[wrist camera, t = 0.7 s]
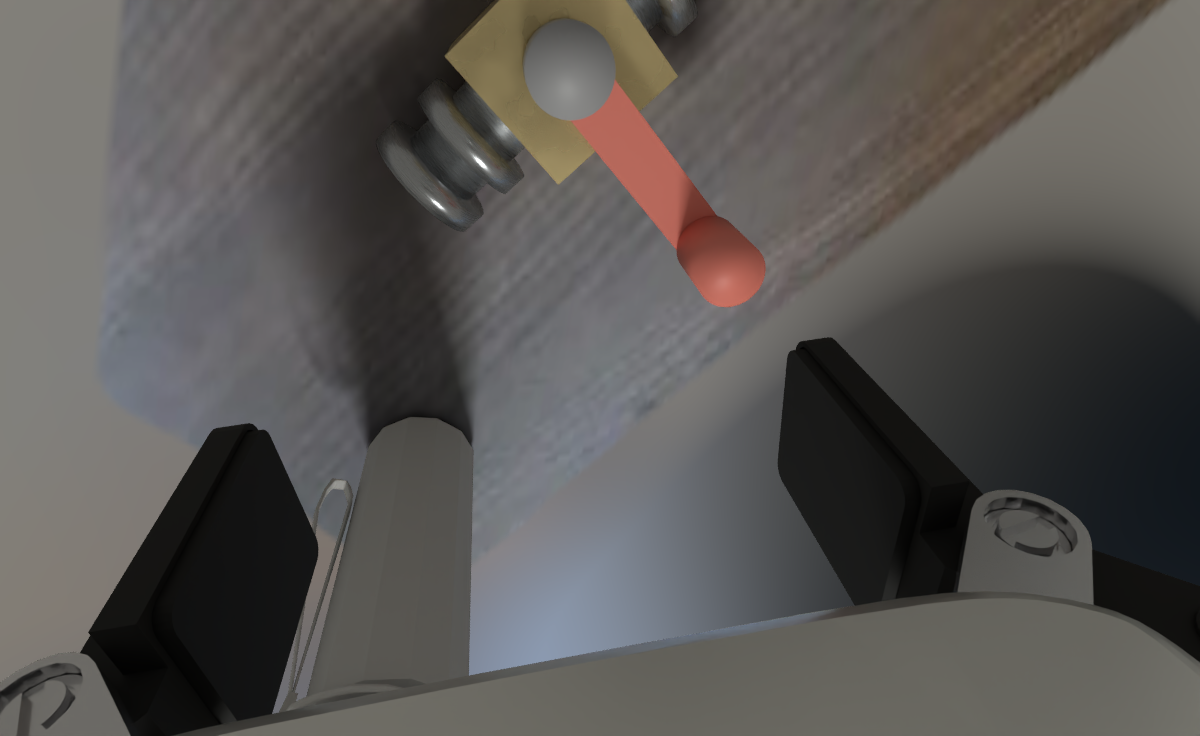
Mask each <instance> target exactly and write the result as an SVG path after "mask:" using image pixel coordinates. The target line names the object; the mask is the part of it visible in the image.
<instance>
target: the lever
mask: <svg viewBox="0 0 1200 736" xmlns="http://www.w3.org/2000/svg"><path fill="white" fill-rule="evenodd" d="M615 72H616V68H615V60H614V56H613V53H612V50H611V48H610V46H609V44H608V42H607V41H606V39H605V38H604V37H603V36H602V34H601V33H599V32H598V31H597V30H596V29H595V28H593V27H592V26H590V25H588V24H586V23H583V22H580V21H577V20H574V19H568V18H562V19H556V20H552V21H550V22H547V23H545V24H544V25H542V26H541V27H540V28H539V29H537V30H536V31H535V33H534V34H533V35H532V36H531V38H530V39H529V41H528V43H527V45H526V48H525V51H524V56H523V75H524V79H525V82H526V85H527V87H528V90H529V92H530V94H531V96H532V98H533V99H534V101H535V102H536V103H537V105H538V106H539V107H540V108H541V109H542V110H544V111H545V112H546V113H548V114H549V115H551V116H553V117H555V118H558V119H562V120H570V121H571V122H572V123H573V124H574V125H575V127H576V128H577V129H578V130H579V132H580V133H581V134H582V135H583V136H584V138H585V139H586V140H587V141H588V143H589V144H590V145H591V146H592V147H593V149H594V150H595V151H596V152H597V154H598V155H599V156H600V157H601V158H602V160H603V161H604V162H605V163H606V164H607V166H608V167H609V168H610V169H611V171H612V172H613V173H614V174H615V175H616V177H617V178H618V179H619V180H620V182H621V183H622V184H623V185H624V186H625V188H626V189H627V190H628V191H629V193H630V194H631V195H632V196H633V197H634V199H635V200H636V201H637V202H638V203H639V205H640V206H641V207H642V208H643V210H644V211H645V212H646V213H647V214H648V216H649V217H650V218H651V219H652V221H653V222H654V223H655V224H656V225H657V227H658V228H659V229H660V230H661V231H662V233H663V234H664V235H665V236H666V238H667V239H668V240H669V241H670V242H671V244H672V245H673V246H674V247H675V249H676V250H677V257H678V260H679V262H680V264H681V266H682V267H683V269H684V270H685V271H686V273H687V274H688V276H689V277H690V278H691V280H692V281H693V283H694V284H695V286H696V287H697V288H698V290H699V291H700V293H701V294H702V295H703V297H704V298H705V299H706V300H707V301H708V302H710V303H712V304H713V305H716V306H720V307H731V306H736V305H739V304H741V303H743V302H745V301H747V300H748V299H750V298H751V297H752V296H753V295H754V294H755V293H756V292H757V291H758V289H759V288H760V286H761V284H762V282H763V280H764V276H765V261H764V258H763V256H762V254H761V253H760V251H759V250H758V249H757V248H756V247H755V246H754V245H753V244H752V243H751V242H750V241H748V240H747V239H746V238H745V237H744V236H743V235H742V234H741V233H740V232H739V231H738V230H737V229H736V228H735V227H734V226H733V225H732V224H731V223H730V222H729V221H727V220H726V219H724V218H721V217H718V216H717V215H716V214H715V212H714V211H713V210H712V208H711V207H710V206H709V204H708V203H707V202H706V200H705V199H704V198H703V196H702V195H701V194H700V192H699V191H698V190H697V188H696V187H695V186H694V184H693V183H692V182H691V180H690V179H689V178H688V176H687V175H686V174H685V172H684V171H683V170H682V168H681V167H680V166H679V164H678V163H677V162H676V160H675V159H674V158H673V156H672V155H671V154H670V152H669V151H668V150H667V148H666V147H665V146H664V144H663V143H662V142H661V140H660V139H659V138H658V136H657V135H656V134H655V132H654V131H653V130H652V128H651V127H650V126H649V124H648V123H647V122H646V120H645V119H644V118H643V116H642V115H641V114H640V112H639V111H638V110H637V108H636V107H635V106H634V104H633V103H632V102H631V100H630V99H629V98H628V96H627V95H626V94H625V92H624V91H623V90H622V88H621V87H620V86H619V84H618V83H617V82H616V80H615Z"/></svg>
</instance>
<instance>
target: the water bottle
mask: <svg viewBox="0 0 1200 736" xmlns="http://www.w3.org/2000/svg"><path fill="white" fill-rule="evenodd" d="M331 489H342V490H344V493H345V496H346V499H347V502H348V506H347V509H346V512H345V516H344V519H343V523H342V526H341V529H340V533H339V536H338V539H337V543H336V546H335V550H334V553H333V556H332V560H331V563H330V566H329V570H328V573H327V577H326V580H325V583H324V587H323V590H322V593H321V597H320V600H319V603H318V607H317V610H316V613H315V617H314V620H313V624H312V627H311V631H310V634H309V637H308V641H307V644H306V647H305V651H304V654H303V657H302V661H301V664H300V667H299V671H298V674H297V677H296V681H295V684H294V688H293V682H294V676H295V668H296V662H297V655H298V648H299V642H300V635H301V628H302V621H303V615H304V608H305V603H304V607H303V610H302V613H301V617H300V620H299V624H298V628H297V635H296V643H295V649H294V656H293V663H292V670H291V677H290V684H289V691H288V695H287V697H286V699H285V701H284V703H283V705H282V707H281V709H280V711H279V712H284V711H289V710H294V709H298V708H303V707H308V706H313V705H319V704H324V703H329V702H334V701H339V700H345V699H350V698H355V697H360V696H365V695H371V694H376V693H381V692H386V691H391V690H397V689H402V688H407V687H412V686H418V685H423V684H428V683H433V682H438V681H444V680H449V679H454V678H459V677H464V676H469V639H470V638H469V637H470V591H471V590H470V588H471V544H472V497H473V449H472V447H471V446H470V444H469V442H468V441H467V439H466V438H465V436H464V435H463V433H462V431H460V430H458V429H456V428H454V427H453V426H451V425H449V424H447V423H445V422H443V421H441V420H439V419H437V418H424V417H408V418H406V419H403V420H401V421H398V422H396V423H393V424H391V425H388V426H386V427H384V428H383V429H382V430H381V431H380V432H379V434H378V435H377V436H376V438H375V439H374V440H373V441H372V443H371V444H370V445H369V447H368V451H367V455H366V459H365V463H364V467H363V471H362V475H361V479H360V483H359V487H358V491H357V495H356V499H355V503H354V507H353V512H352V516H351V520H350V524H349V528H348V532H347V536H346V540H345V544H344V548H343V552H342V556H341V560H340V564H339V568H338V572H337V576H336V580H335V584H334V588H333V592H332V596H331V600H330V604H329V609H328V612H327V616H326V620H325V624H324V628H323V632H322V636H321V640H320V644H319V648H318V652H317V656H316V660H315V664H314V669H313V673H312V676H311V680H310V684H309V689H308V692H307V696H306V697H305V698H303V699H300V700H298V701H296V699H297V695H298V693H295V689H296V686H297V683H298V679H299V676H300V673H301V670H302V667H303V663H304V660H305V657H306V654H307V651H308V647H309V644H310V641H311V638H312V634H313V631H314V628H315V625H316V621H317V618H318V615H319V612H320V608H321V605H322V602H323V599H324V596H325V592H326V589H327V586H328V582H329V579H330V576H331V573H332V570H333V566H334V563H335V560H336V557H337V553H338V550H339V547H340V544H341V540H342V537H343V534H344V531H345V527H346V524H347V521H348V517H349V514H350V510H351V506H352V498H353V493H352V489H351V486H350V485H349V483H348V482H347V481H344V480H341V479H332V480H331V481H330V482H329V484H328V485H327V486H326V488H325V489H324V491H323V493H322V496H321V498H320V500H319V502H318V505H317V507H316V510H315V513H314V517H313V524H312V529H313V532H314V534H316V527H317V520H318V513H319V510H320V507H321V505H322V503H323V500H324V498H325V497H326V496H327V494H328V493H329V492H330V491H331ZM305 601H306V600H305ZM292 689H293V691H292Z"/></svg>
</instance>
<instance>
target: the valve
mask: <svg viewBox="0 0 1200 736" xmlns="http://www.w3.org/2000/svg"><path fill="white" fill-rule="evenodd" d="M697 14H698V12H697V7H696V3H695V0H494V1H493V2H492V3H491V4H490V5H489V6H488V7H487V8H486V9H485V10H484V11H483V12H482V13H481V14H480V15H479V16H478V17H477V18H476V19H475V20H474V21H473V22H472V23H471V24H470V25H469V26H468V27H467V28H466V29H465V30H464V31H463V32H462V33H461V34H460V35H459V36H458V37H457V39H456V40H455V41H454V42H453V43H452V44H451V46H450V48H449V49H448V51H447V53H446V55H445V57H446V59H447V60H448V61H449V62H450V63H451V64H452V65H453V66H454V68H455V69H456V70H457V71H458V72H459V73H460V74H461V76H462V77H463V78H464V79H465V80H466V81H467V82H466V83H465V84H464V85H463V86H462V87H461V88H460V89H459V90H458V91H457V92H456V91H455V90H453V89H452V88H451V87H450V86H449V85H448V84H446V83H445V82H444V81H442V80H440V79H438V78H437V79H435V80H434V81H433V82H432V83H431V85H430V86H429V87H428V88H427V89H426V90H425V91H424V92H423V93H422V94H421V95H420V96H419V97H418V101H419V104H420V106H421V108H422V109H423V111H424V113H425V114H426V116H427V117H428V119H429V120H428V121H427V122H426V123H425V124H424V125H423V126H422V127H421V128H420V129H419V130H418V131H416V130H414V129H413V128H411V127H410V126H408V125H407V124H405V123H403V122H400V121H394V122H393V123H392V124H391V125H390V126H389V127H388V128H387V129H386V130H385V131H384V132H383V133H382V134H381V135H380V136H379V137H378V138H377V140H376V146H377V149H378V151H379V153H380V155H381V157H382V159H383V160H384V162H385V164H386V165H387V166H388V168H389V169H390V171H391V172H392V173H393V174H394V176H395V177H396V178H397V179H398V181H399V182H400V183H401V184H402V185H403V186H404V188H405V189H406V190H407V191H408V192H409V193H410V194H411V195H412V196H413V197H414V198H415V199H416V200H417V201H418V202H419V203H420V204H421V205H422V206H423V207H424V208H426V209H427V210H428V211H429V212H430V213H431V214H433V215H434V216H435V217H436V218H438V219H439V220H440V221H442V222H443V223H445V224H446V225H448V226H449V227H451V228H453V229H455V230H457V231H461V232H464V231H466V230H467V229H468V228H469V227H470V226H472V225H473V224H474V223H475V222H476V221H477V220H478V219H479V218H480V217H481V216H482V215H483V213H484V212H483V208H482V205H481V203H480V201H479V199H478V198H477V196H476V193H477V192H478V191H479V190H480V189H481V188H482V187H483V186H485V185H486V184H487V183H488V184H489V185H490V186H492V187H493V188H495V189H496V190H498V191H499V192H501V193H504V194H506V193H507V192H508V191H509V190H510V189H512V188H513V187H514V186H515V185H516V184H517V183H518V182H519V181H520V180H521V179H522V178H523V177H524V174H523V171H522V169H521V168H520V166H519V164H518V163H517V161H516V160H515V158H514V157H515V156H517V155H518V154H519V153H520V152H521V151H522V150H523V149H524V148H526V149H527V150H528V151H529V152H530V153H531V154H532V156H533V157H534V158H535V159H536V160H537V161H538V162H539V163H540V165H541V166H542V167H543V168H544V169H545V170H546V171H547V172H548V174H549V175H550V176H551V177H552V178H553V179H554V180H555V182H556V183H557V184H558V185H559V184H560V183H561V182H562V181H563V180H564V179H565V178H566V177H567V176H569V175H570V174H571V173H572V172H573V171H574V170H575V169H576V168H577V167H579V166H580V165H581V164H582V163H583V162H584V161H585V160H586V159H587V158H588V157H590V156H591V155H592V154H593V153H594V152H595V150H594V149H593V147H592V146H591V145H590V144H589V143H588V141H587V140H586V139H585V138H584V136H583V135H582V134H581V133H580V132H579V130H578V129H577V128H576V127H575V125H574V124H573V123H572V122H571V121H570V120H562V119H558V118H555V117H553V116H551V115H549V114H548V113H546V112H545V111H544V110H542V109H541V108H540V107H539V106H538V105H537V103H536V102H535V101H534V99H533V98H532V96H531V94H530V92H529V90H528V87H527V85H526V82H525V79H524V75H523V56H524V51H525V48H526V45H527V43H528V41H529V39H530V38H531V36H532V35H533V34H534V33H535V31H536V30H537V29H539V28H540V27H541V26H542V25H544V24H545V23H547V22H550V21H552V20H556V19H562V18H568V19H574V20H577V21H580V22H583V23H586V24H588V25H590V26H592V27H593V28H595V29H596V30H597V31H598V32H599V33H601V34H602V36H603V37H604V38H605V39H606V41H607V42H608V44H609V46H610V48H611V50H612V53H613V56H614V60H615V68H616V72H615V80H616V82H617V83H618V84H619V86H620V87H621V88H622V90H623V91H624V92H625V94H626V95H627V96H628V98H629V99H630V100H631V102H632V103H633V104H634V106H635V107H636V108H637V110H638V111H640V110H642V109H643V108H644V107H645V106H646V105H647V104H648V103H649V102H650V101H651V100H653V99H654V98H655V97H656V96H657V95H658V94H659V93H660V92H661V91H663V90H664V89H665V88H666V87H667V86H668V85H669V84H670V83H671V82H672V81H674V80H675V79H676V78H677V77H678V76H677V74H676V73H675V71H674V70H673V68H672V67H671V66H670V64H669V63H668V61H667V60H666V58H665V57H664V55H663V54H662V52H661V51H660V50H659V48H658V47H657V45H656V44H655V42H654V41H653V39H652V38H651V37H650V35H649V34H648V32H649V31H650V30H651V29H652V28H653V27H654V26H655V25H656V24H658V25H659V26H660V27H661V28H662V29H663V30H664V31H665V32H666V33H667V34H669V35H670V36H672V37H676V36H677V35H678V34H679V33H680V32H681V31H683V30H684V29H685V28H686V27H687V26H688V25H689V24H690V23H691V22H692V21H693V20H694V19H696V18H697Z"/></svg>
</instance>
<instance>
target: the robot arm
mask: <svg viewBox="0 0 1200 736" xmlns="http://www.w3.org/2000/svg"><path fill="white" fill-rule="evenodd" d="M778 470H779V474H780V477H781V480H782V482H783V483H784V485H785V487H786V488H787V490H788V492H789V494H790V495H791V497H792V499H793V501H794V502H795V504H796V506H797V507H798V509H799V511H800V512H801V514H802V516H803V518H804V519H805V521H806V523H807V524H808V526H809V528H810V529H811V531H812V533H813V535H814V536H815V538H816V540H817V542H818V543H819V545H820V547H821V548H822V550H823V552H824V554H825V555H826V557H827V559H828V560H829V562H830V564H831V565H832V567H833V569H834V571H835V572H836V574H837V575H838V577H839V579H840V581H841V583H842V584H843V586H844V588H845V589H846V591H847V593H848V594H849V596H850V598H851V600H852V601H853V603H854V605H855V606H850V607H844V608H838V609H832V610H825V611H819V612H813V613H807V614H801V615H796V616H791V617H785V618H779V619H774V620H768V621H763V622H757V623H751V624H746V625H740V626H735V627H729V628H724V629H718V630H713V631H707V632H702V633H696V634H691V635H685V636H680V637H674V638H668V639H663V640H657V641H652V642H647V643H641V644H636V645H630V646H625V647H620V648H614V649H609V650H603V651H598V652H593V653H587V654H582V655H577V656H572V657H566V658H560V659H555V660H550V661H545V662H539V663H534V664H528V665H524V666H518V667H513V668H507V669H502V670H496V671H492V672H486V673H480V674H475V675H470V676H464V677H459V678H454V679H449V680H444V681H438V682H433V683H428V684H423V685H418V686H412V687H407V688H402V689H397V690H391V691H386V692H381V693H376V694H371V695H365V696H360V697H355V698H350V699H345V700H339V701H334V702H329V703H324V704H319V705H313V706H308V707H303V708H298V709H294V710H289V711H284V712H279V713H275V714H272V712H273V709H274V705H275V702H276V699H277V695H278V692H279V688H280V685H281V682H282V678H283V674H284V671H285V668H286V665H287V661H288V658H289V654H290V651H291V647H292V644H293V640H294V637H295V634H296V630H297V627H298V624H299V620H300V617H301V613H302V610H303V607H304V603H305V600H306V596H307V593H308V589H309V586H310V583H311V579H312V576H313V572H314V569H315V566H316V562H317V558H318V543H317V539H316V536H315V534H314V532H313V529H312V527H311V525H310V523H309V521H308V518H307V516H306V514H305V512H304V510H303V507H302V505H301V503H300V501H299V498H298V496H297V494H296V492H295V490H294V487H293V485H292V483H291V481H290V479H289V476H288V474H287V472H286V470H285V468H284V465H283V463H282V461H281V459H280V457H279V454H278V452H277V450H276V448H275V446H274V443H273V441H272V439H271V437H270V435H269V433H268V432H267V431H266V430H258V429H257V428H256V427H255V426H254V425H253V424H250V423H248V424H241V425H234V426H228V427H221V428H216V429H213V430H212V431H211V433H210V434H209V436H208V437H207V439H206V440H205V442H204V444H203V445H202V447H201V449H200V450H199V452H198V454H197V455H196V457H195V459H194V460H193V462H192V464H191V465H190V467H189V468H188V470H187V472H186V473H185V475H184V476H183V478H182V480H181V481H180V483H179V485H178V486H177V488H176V490H175V491H174V493H173V494H172V496H171V498H170V500H169V501H168V503H167V504H166V506H165V508H164V509H163V511H162V513H161V514H160V516H159V517H158V519H157V521H156V522H155V524H154V526H153V527H152V529H151V530H150V532H149V534H148V535H147V537H146V539H145V540H144V542H143V544H142V545H141V547H140V549H139V550H138V552H137V553H136V555H135V557H134V558H133V560H132V562H131V563H130V565H129V567H128V568H127V570H126V572H125V573H124V575H123V576H122V578H121V580H120V581H119V583H118V584H117V586H116V588H115V589H114V591H113V593H112V594H111V596H110V598H109V600H108V601H107V602H106V604H105V606H104V608H103V609H102V611H101V612H100V614H99V616H98V617H97V619H96V621H95V622H94V624H93V626H92V627H91V629H90V630H89V632H88V633H89V634H90V637H89V639H88V640H87V642H86V644H85V645H84V647H83V649H82V650H81V652H80V653H76V652H70V653H61V654H55V655H52V656H49V657H46V658H43V659H40V660H37V661H35V662H34V663H31V664H30V665H28V666H26V667H24V668H22V669H20V670H18V671H16V672H15V673H13V674H12V675H10V676H9V677H8V678H6V679H5V680H3V681H2V682H0V736H1200V586H1198V585H1195V584H1192V583H1189V582H1186V581H1183V580H1180V579H1177V578H1174V577H1171V576H1168V575H1165V574H1162V573H1160V572H1156V571H1154V570H1151V569H1148V568H1145V567H1142V566H1139V565H1136V564H1133V563H1130V562H1127V561H1124V560H1121V559H1119V558H1116V557H1113V556H1110V555H1107V554H1104V553H1101V552H1098V551H1095V550H1092V543H1091V539H1090V536H1089V532H1088V531H1087V529H1086V528H1085V527H1084V525H1083V524H1082V523H1081V521H1080V520H1079V519H1078V518H1077V517H1075V516H1074V515H1073V514H1072V513H1071V512H1069V511H1068V510H1067V509H1065V508H1064V507H1062V506H1060V505H1058V504H1056V503H1055V502H1053V501H1051V500H1049V499H1046V498H1043V497H1041V496H1038V495H1035V494H1032V493H1027V492H1022V491H1016V490H998V491H993V492H989V493H985V494H984V495H983V494H982V493H981V492H980V491H979V490H978V489H977V487H976V486H975V485H974V484H973V483H972V482H971V481H970V480H969V479H968V478H967V477H966V476H965V475H964V474H963V473H962V472H961V471H960V470H959V469H958V468H957V467H956V466H955V465H954V464H953V462H951V460H950V459H949V458H948V457H947V456H946V455H945V454H944V453H943V452H942V451H941V450H940V449H939V448H938V447H937V446H936V445H935V444H934V443H933V442H932V441H931V440H930V438H928V437H927V435H926V434H925V433H924V432H923V431H922V430H921V429H920V428H919V427H918V426H917V425H916V424H915V423H914V422H913V421H912V420H911V419H910V418H909V417H908V416H907V415H906V413H905V412H904V411H903V410H902V409H901V408H900V407H899V406H898V405H897V404H896V403H895V402H894V401H893V400H892V399H891V398H890V397H889V396H888V395H887V394H886V393H885V392H884V391H883V390H882V389H881V388H880V387H879V386H878V385H877V384H876V382H875V381H874V380H873V379H872V378H871V377H870V376H869V375H868V374H867V373H866V372H865V371H864V370H863V369H862V368H861V367H860V366H859V365H858V364H857V363H856V362H855V361H854V359H853V358H852V357H850V355H849V354H848V353H847V352H846V351H845V350H844V349H843V348H842V347H841V346H840V345H839V344H838V343H837V342H836V341H835V340H834V339H833V338H822V339H814V340H807V341H801V342H799V344H798V345H797V347H796V350H793V351H790V352H789V354H788V358H787V367H786V378H785V388H784V400H783V410H782V422H781V432H780V442H779V453H778Z"/></svg>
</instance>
